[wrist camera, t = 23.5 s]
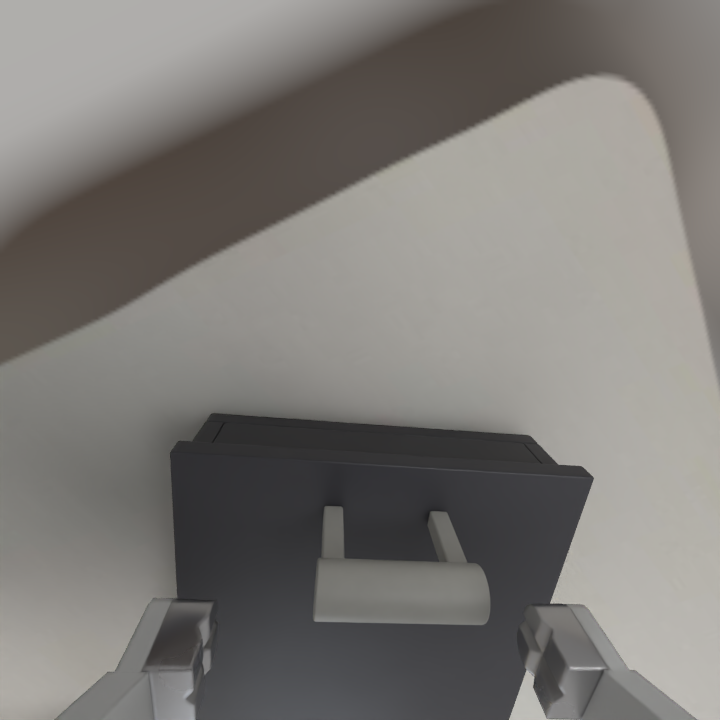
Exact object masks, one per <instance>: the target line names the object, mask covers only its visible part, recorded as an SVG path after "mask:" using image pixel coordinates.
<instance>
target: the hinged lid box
mask: <svg viewBox="0 0 720 720" xmlns="http://www.w3.org/2000/svg"><path fill="white" fill-rule="evenodd" d="M192 442H207V443H222V444H238V445H254V446H270V447H286V448H301V449H317V450H333V451H349V452H365V453H380V454H396V455H412V456H428V457H444V458H459V459H475V460H491V461H507V462H522V463H538V464H554V465H558V464H557V463H556V462H555V461H554V460H553V459H552V458H551V457H550V456H549V455H548V454H547V453H546V452H545V451H544V450H543V448H542V447H541V446H540V445H538V444H537V442H536V441H535V440H534V439H533V438H532V437H531V436H524V435H509V434H495V433H481V432H467V431H453V430H438V429H424V428H410V427H396V426H382V425H367V424H353V423H339V422H325V421H311V420H296V419H282V418H268V417H254V416H240V415H225V414H211V415H210V417H209V418H208V420H207V422H205V424H204V425H203V427H202V428H201V429H200V431H199V432H198V434H197V435H196V437H195V438H194V440H193V441H192Z"/></svg>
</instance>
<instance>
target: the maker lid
mask: <svg viewBox="0 0 720 720" xmlns="http://www.w3.org/2000/svg"><path fill="white" fill-rule="evenodd" d="M170 458H171V478H172V499H173V519H174V539H175V560H176V580H177V599H198V600H217V606H218V611H217V614H216V618H215V620H216V621H217V622H218V638H217V644H216V650H215V655H214V659H213V662H212V666H211V669H210V670H209V671H208V672H207V673H206V674H205V675H204V679H205V691H204V695H203V698H202V702H201V705H200V709H199V712H198V716H197V720H509V718H510V715H511V712H512V709H513V707H514V704H515V701H516V698H517V695H518V692H519V690H520V687H521V684H522V681H523V678H524V675H525V672H526V670H527V669H526V668H525V667H524V665H523V662H522V660H521V658H520V655H519V651H518V647H517V631H518V628H519V625H520V624H521V623H523V622H524V621H525V620H526V618H525V616H524V614H523V612H524V610H525V607H526V606H527V605H528V604H550V601H551V599H552V596H553V593H554V590H555V587H556V584H557V582H558V579H559V576H560V573H561V570H562V567H563V565H564V562H565V559H566V556H567V553H568V550H569V548H570V545H571V542H572V539H573V536H574V533H575V531H576V528H577V525H578V522H579V519H580V516H581V513H582V511H583V508H584V505H585V502H586V499H587V496H588V494H589V491H590V488H591V485H592V482H593V479H594V478H593V476H592V475H591V474H589V473H588V472H587V471H586V470H585V469H584V468H583V467H582V466H570V465H554V464H538V463H522V462H507V461H491V460H475V459H459V458H444V457H428V456H412V455H396V454H380V453H365V452H349V451H333V450H317V449H301V448H286V447H270V446H254V445H238V444H222V443H207V442H191V441H178V443H177V444H176V445H175V447H174V448H173V449H172V450H171V452H170Z"/></svg>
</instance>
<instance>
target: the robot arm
mask: <svg viewBox="0 0 720 720" xmlns="http://www.w3.org/2000/svg"><path fill="white" fill-rule="evenodd" d="M217 611H218V606H217V600H198V599H175V598H153V599H152V601H151V602H150V603H149V604H148V606H147V608H146V610H145V612H144V614H143V616H142V618H141V620H140V622H139V624H138V626H137V628H136V630H135V632H134V634H133V636H132V638H131V640H130V642H129V644H128V646H127V648H126V650H125V652H124V654H123V656H122V658H121V660H120V662H119V664H118V666H117V668H116V670H115V672H107V673H106V674H105V675H104V676H103V677H102V678H101V679H99V680H98V681H97V682H96V683H95V684H94V685H93V686H92V687H90V688H89V689H88V690H87V691H86V692H85V693H84V694H83V695H81V696H80V697H79V698H78V699H77V700H76V701H75V702H74V703H72V704H71V705H70V706H69V707H68V708H67V709H66V710H65V711H64V712H62V713H61V714H60V715H59V716H58V717H57V718H56V719H55V720H197V716H198V712H199V709H200V705H201V702H202V698H203V695H204V691H205V679H204V675H205V674H206V673H207V672H208V671H209V670H210V669H211V666H212V662H213V659H214V655H215V650H216V644H217V638H218V622H217V621H216V620H215V618H216V614H217ZM523 614H524V616H525V618H526V620H525V621H524V622H523V623H521V624H520V625H519V628H518V631H517V647H518V651H519V655H520V658H521V660H522V662H523V665H524V667H525V668H526V669H527V670H528V671H529V672H530V673H531V674H532V675H533V676H534V677H535V678H534V685H533V688H534V690H535V693H536V695H537V697H538V699H539V702H540V704H541V706H542V709H543V711H544V713H545V715H546V718H547V719H570V720H697V719H696V718H694V717H693V716H692V715H691V714H689V713H688V712H687V711H686V710H684V709H683V708H682V707H681V706H679V705H678V704H677V703H676V702H674V701H673V700H672V699H670V698H669V697H668V696H667V695H665V694H664V693H663V692H662V691H660V690H659V689H658V688H657V687H655V686H654V685H653V684H652V683H650V682H649V681H648V680H647V679H645V678H644V677H643V676H642V675H640V674H639V673H638V672H637V671H635V670H629V669H628V667H627V666H626V664H625V663H624V661H623V660H622V658H621V657H620V655H619V654H618V652H617V651H616V649H615V648H614V646H613V645H612V643H611V642H610V640H609V639H608V637H607V636H606V634H605V633H604V631H603V630H602V628H601V627H600V625H599V624H598V623H597V621H596V620H595V618H594V617H593V615H592V614H591V612H590V611H589V609H588V608H587V607H585V606H584V605H581V604H528V605H527V606H526V607H525V610H524V612H523Z"/></svg>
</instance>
